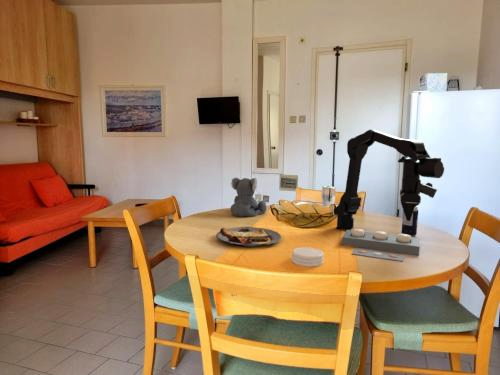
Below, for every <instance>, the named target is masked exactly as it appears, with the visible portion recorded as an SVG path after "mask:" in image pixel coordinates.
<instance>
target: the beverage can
mask: <svg viewBox="0 0 500 375" xmlns="http://www.w3.org/2000/svg"><path fill="white" fill-rule="evenodd" d="M418 219H419V209H418V207H417V206H416V207H415V208H414V210H413V213H412V217H411V220H410V221H407V220H406V217H405V214H404V211H403V210H402V220H401V231H400V232H401V233H400V234H407V235H410V236H411V237H416V235H418V234H417V231H418V221H419V220H418Z"/></svg>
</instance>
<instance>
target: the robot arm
mask: <svg viewBox="0 0 500 375" xmlns="http://www.w3.org/2000/svg"><path fill="white" fill-rule="evenodd" d="M375 142H376V143H379V144H382V145H385V146H388V147H389V148H393V149H395V150H396V151H397V152H398V153H399V154H400V155H402V156H401V158H399V159H397V162H398V163H402V177H401V188H400V190H399V197H400V201H399V202H400V205H401V207H402V212H403V211H404V214H405V217H406V220H407V221H410V220H411V217H412V213H413V210H414V208H415V207H417V206H419V205H420V204H421V200H422V196H421V195H420V194H423V195H426V196H428V197H429V198H431V199H433V198H434V197H435V195H436V193H437V191H438V189H437V188H436V187H433V183H431V182H426V183H423V182H422V180H421V177H423V178H431V179H441V178H442V177H443V175H444V173H445V167H444V164H443V162H442V158H441V157H433V158H432V157H431V156H430V154H429V153H428V151H427V149H426V146H425V143H424V142H423V141H421V140H417V139H407V138H401V137H398V136H395V135H391V134H389V133H386V132H383V131H380V130H378V129H368V130H367V131H365V132H363V133H360V134H358V135H356V136H355V137H351V138H350V139H348V140H347V144H346V145H347V146H346V153H347V155H348V157H349V158H348V159H349V162H348V170H347V176H346V182H345V183H346V184H345V190H344V193H343V194H342V195H341V197H340V199H339V202H338V205H337V206H336V207H334V208H333V215H336V226H335V229H338V230H345V231H346V230H352V229H354V225H355V224H354V223H355V218H354V215H357V212H358V210H359V209H360V207H362V205H361V202H362V197H361V196H359V194H358V191H359V190H358V188H359V181H360V174H361V169H362V168H361V167H362V162H363V159H364V158H365V156H366V155H367V153H368V149H369V147H371V146H373V144H375Z"/></svg>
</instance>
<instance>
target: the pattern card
mask: <svg viewBox="0 0 500 375" xmlns="http://www.w3.org/2000/svg"><path fill="white" fill-rule="evenodd" d="M353 254H355V256H359V257H360V256H362V257H367V258H368V257H369V258H377V259H380V260H381V259H382V260H388V261H389V260H390V261H398V262H403V261H404V253H398V252H390V251H383V250H376V249H368V248H361V247H353V251H352V252H351V255H353Z"/></svg>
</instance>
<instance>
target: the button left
mask: <svg viewBox="0 0 500 375" xmlns="http://www.w3.org/2000/svg"><path fill="white" fill-rule="evenodd" d="M351 230H352V236H358V237H364V232H365V230H364V229H362V228H352V229H351Z"/></svg>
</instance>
